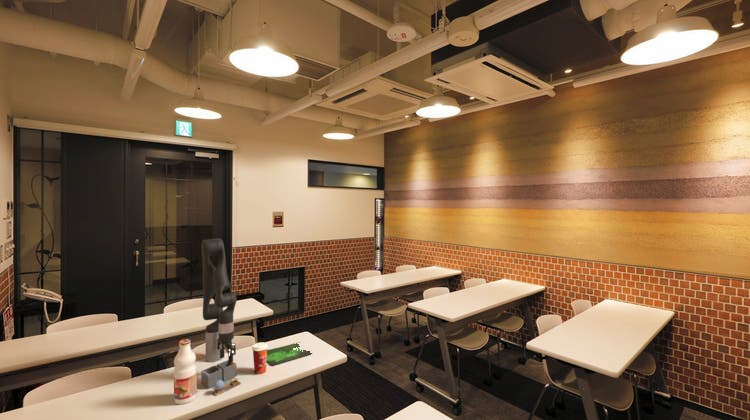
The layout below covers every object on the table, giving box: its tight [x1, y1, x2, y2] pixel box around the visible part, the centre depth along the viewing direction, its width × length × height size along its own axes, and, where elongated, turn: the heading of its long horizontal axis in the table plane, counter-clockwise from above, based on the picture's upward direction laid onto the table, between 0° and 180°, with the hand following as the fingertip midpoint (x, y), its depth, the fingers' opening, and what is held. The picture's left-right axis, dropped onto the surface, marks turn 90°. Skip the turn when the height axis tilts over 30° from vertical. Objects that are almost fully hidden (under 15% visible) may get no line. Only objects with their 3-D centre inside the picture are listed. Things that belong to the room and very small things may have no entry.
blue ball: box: [214, 380, 224, 390], centre depth 160 cm, size 4×4×4 cm
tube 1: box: [200, 365, 222, 390], centre depth 168 cm, size 7×7×7 cm
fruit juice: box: [173, 338, 198, 405], centre depth 155 cm, size 9×9×28 cm
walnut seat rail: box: [212, 380, 241, 397], centre depth 163 cm, size 3×13×2 cm, turn 144°
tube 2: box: [215, 359, 238, 382], centre depth 175 cm, size 7×7×7 cm
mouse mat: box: [266, 342, 313, 367], centre depth 202 cm, size 27×22×1 cm
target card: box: [211, 377, 239, 390], centre depth 168 cm, size 4×12×1 cm, turn 144°
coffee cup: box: [251, 341, 269, 375], centre depth 180 cm, size 8×8×15 cm
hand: (226, 360), depth 174 cm, fingers open, 8 cm apart
